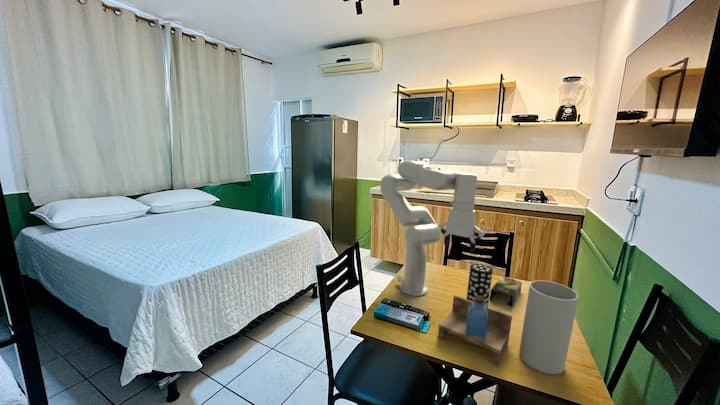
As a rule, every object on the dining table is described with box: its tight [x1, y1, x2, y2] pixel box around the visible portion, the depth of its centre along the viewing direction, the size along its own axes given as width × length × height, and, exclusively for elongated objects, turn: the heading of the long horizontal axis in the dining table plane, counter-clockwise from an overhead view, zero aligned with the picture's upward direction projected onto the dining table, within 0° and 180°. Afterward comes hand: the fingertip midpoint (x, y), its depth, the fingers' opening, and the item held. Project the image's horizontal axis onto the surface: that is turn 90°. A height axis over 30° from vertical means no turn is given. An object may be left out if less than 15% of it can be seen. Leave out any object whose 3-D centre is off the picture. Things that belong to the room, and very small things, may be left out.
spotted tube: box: [466, 263, 493, 307], centre depth 118 cm, size 8×8×20 cm
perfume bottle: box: [466, 296, 488, 338], centre depth 98 cm, size 6×6×12 cm
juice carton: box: [489, 276, 523, 307], centre depth 135 cm, size 20×10×6 cm, turn 141°
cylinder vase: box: [518, 279, 579, 375], centre depth 91 cm, size 12×12×25 cm
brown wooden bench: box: [437, 294, 513, 367], centre depth 101 cm, size 20×13×12 cm, turn 51°
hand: (458, 248), depth 112 cm, fingers open, 9 cm apart
